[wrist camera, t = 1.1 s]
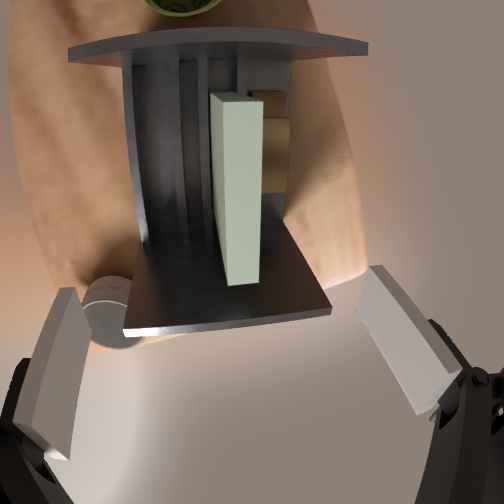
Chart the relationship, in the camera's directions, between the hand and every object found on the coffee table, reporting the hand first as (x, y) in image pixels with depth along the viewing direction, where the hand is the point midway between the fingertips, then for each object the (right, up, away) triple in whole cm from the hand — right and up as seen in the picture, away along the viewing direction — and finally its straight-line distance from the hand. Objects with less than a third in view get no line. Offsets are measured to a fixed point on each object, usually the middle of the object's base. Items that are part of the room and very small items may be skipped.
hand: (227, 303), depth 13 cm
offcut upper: (+3, +14, +23) cm, 27 cm away
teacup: (-22, -4, +33) cm, 40 cm away
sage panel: (-3, +15, +23) cm, 28 cm away
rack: (-4, +16, +24) cm, 29 cm away
